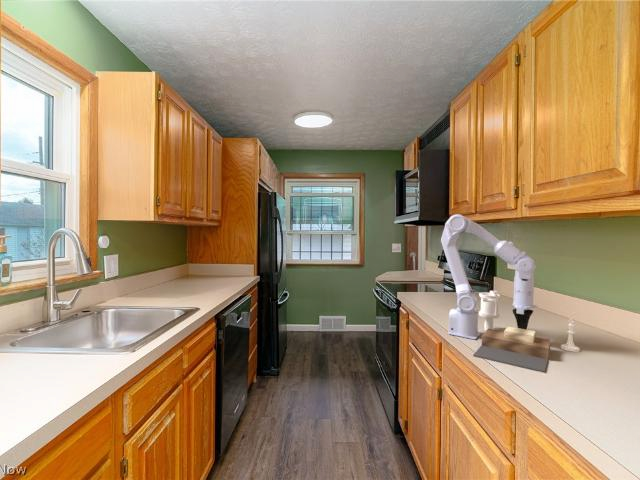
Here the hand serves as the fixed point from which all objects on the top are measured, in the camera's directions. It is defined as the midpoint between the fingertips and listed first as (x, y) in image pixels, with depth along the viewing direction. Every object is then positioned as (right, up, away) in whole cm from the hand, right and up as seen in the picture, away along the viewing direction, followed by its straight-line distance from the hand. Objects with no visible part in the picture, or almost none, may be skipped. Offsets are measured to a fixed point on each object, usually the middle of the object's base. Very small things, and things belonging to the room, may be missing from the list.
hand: (522, 330), depth 111 cm
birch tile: (-4, -1, -5) cm, 6 cm away
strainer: (-4, -4, +15) cm, 16 cm away
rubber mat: (-12, -5, -13) cm, 18 cm away
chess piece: (+13, -5, -5) cm, 14 cm away
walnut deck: (-5, -4, -5) cm, 8 cm away
